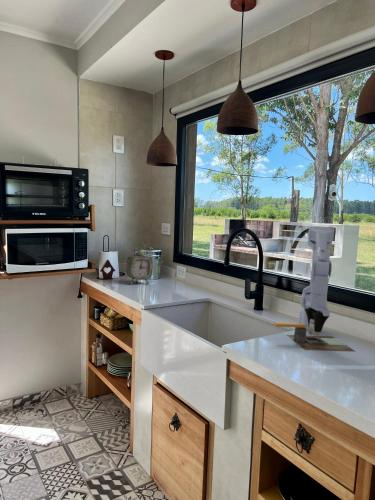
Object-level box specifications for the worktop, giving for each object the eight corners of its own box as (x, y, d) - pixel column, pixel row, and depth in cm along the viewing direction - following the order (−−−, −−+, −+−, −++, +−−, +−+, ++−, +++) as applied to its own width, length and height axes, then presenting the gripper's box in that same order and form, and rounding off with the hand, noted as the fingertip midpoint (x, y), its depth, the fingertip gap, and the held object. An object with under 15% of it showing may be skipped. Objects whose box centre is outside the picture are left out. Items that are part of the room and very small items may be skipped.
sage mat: (319, 338, 141) (319, 337, 141) (336, 339, 142) (336, 338, 142) (329, 345, 134) (329, 344, 134) (347, 345, 135) (347, 344, 135)
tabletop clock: (129, 285, 220) (131, 243, 217) (124, 282, 227) (126, 242, 225) (151, 284, 227) (154, 244, 224) (145, 282, 235) (148, 243, 232)
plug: (306, 331, 137) (307, 318, 137) (316, 331, 138) (318, 319, 137) (311, 335, 133) (313, 321, 133) (322, 335, 134) (323, 322, 133)
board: (286, 337, 143) (288, 321, 142) (331, 338, 145) (333, 322, 145) (304, 352, 127) (306, 334, 126) (355, 354, 130) (357, 336, 129)
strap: (274, 324, 134) (274, 322, 134) (303, 326, 136) (304, 323, 136) (276, 326, 132) (276, 323, 132) (306, 327, 134) (306, 325, 134)
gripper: (299, 289, 141) (295, 323, 142) (318, 297, 126) (313, 336, 128) (316, 289, 142) (313, 324, 143) (337, 298, 127) (332, 336, 129)
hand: (314, 329), depth 135 cm, fingers closed on plug, 4 cm apart
